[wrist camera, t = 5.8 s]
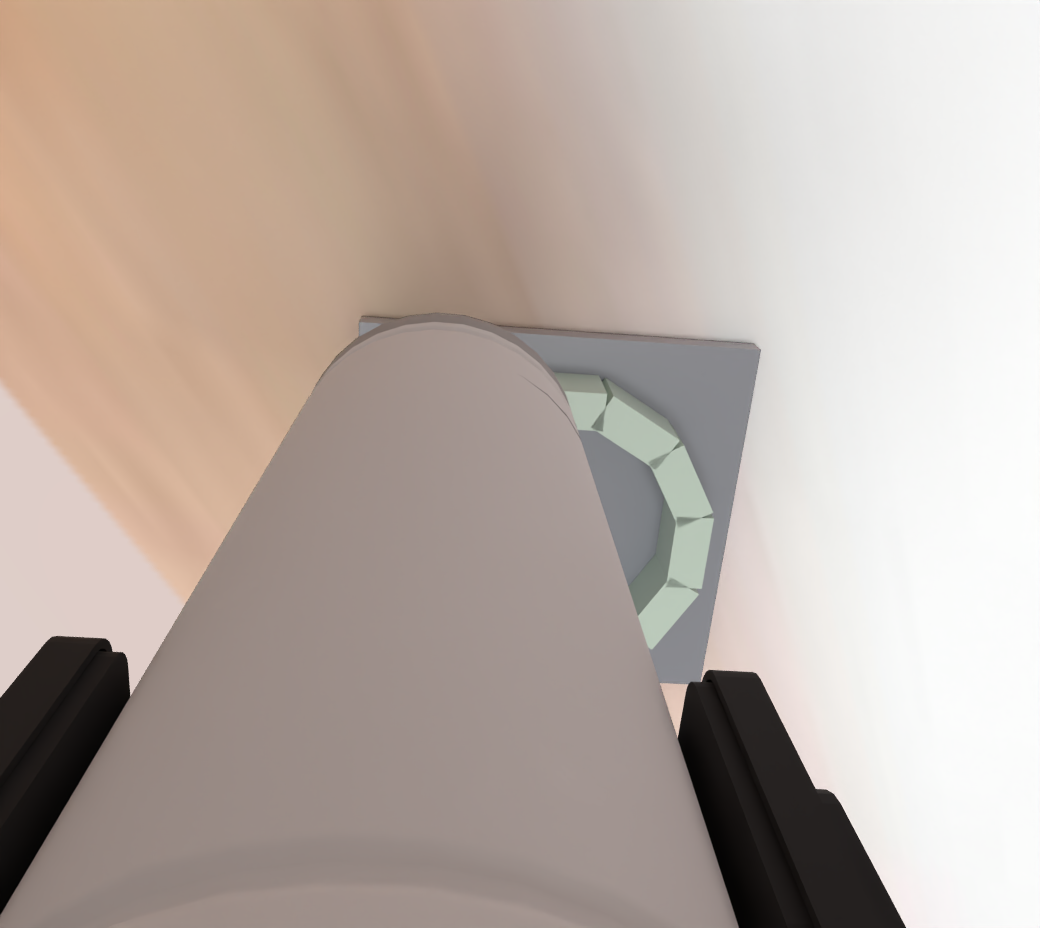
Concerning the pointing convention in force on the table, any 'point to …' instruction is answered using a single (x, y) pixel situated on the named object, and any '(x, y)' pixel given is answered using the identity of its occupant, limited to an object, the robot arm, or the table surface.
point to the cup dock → (625, 478)
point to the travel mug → (398, 686)
